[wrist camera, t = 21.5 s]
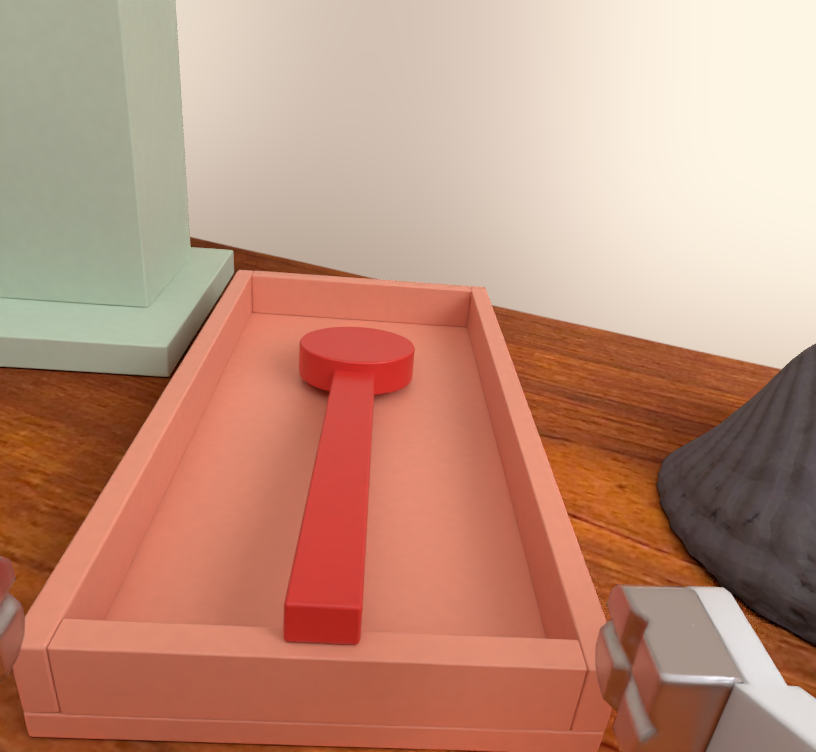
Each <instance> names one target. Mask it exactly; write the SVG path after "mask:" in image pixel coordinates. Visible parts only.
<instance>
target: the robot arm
mask: <svg viewBox="0 0 816 752" xmlns="http://www.w3.org/2000/svg"><path fill="white" fill-rule="evenodd" d="M15 580H16V577H15V573H14V570H13V567H12V563H11V560H9V559H7V558H4V557H2V556H0V682H2V681H3V680H4V679H6V678H7V677H8V675H9V673H10V671H11V670H12V668H13V666H14V664H15V662H16V661H17V659H18V656H19V652H20V649H21V646H22V642H23V639H24V634H25V616H24V611H23V607H22V604H21V603H20V602H19V601H18V600H17V599H15V598H14V597H13V596H12V595H11V594H10V593H9V592H8V591H9V589H10V588H11V586H12V584H13V583H14V581H15ZM607 607H608V610H609V613H610V615H611V618H612V619H611V620H610V621H608V622H607V623H606V624H605V625H603V626H602V627H601V628H600V630H599V634H598V638H597V642H596V646H595V668H596V674H597V680H598V684H599V688H600V691H601V694H602V698H603V699H604V700H605V701H606V702H607V703H608V704H609V705H610V706H611V707H612V708H613V709H614V710H615V711H616V712H617V716H616V719H615V722H614V725H613V728H612V729H613V732H614V735H615V738H616V741H617V745H618V748H619V751H620V752H816V699H815V698H814V697H813V696H811V695H810V694H809V693H807V692H806V691H805V690H803V689H802V688H800V687H799V686H788V685H787V684H786V682H785V681H784V679H783V677H782V676H781V674H780V672H779V671H778V669H777V668H776V666H775V664H774V663H773V661H772V659H771V658H770V656H769V654H768V653H767V651H766V650H765V648H764V646H763V645H762V643H761V641H760V640H759V638H758V636H757V635H756V633H755V632H754V630H753V628H752V627H751V625H750V623H749V622H748V620H747V619H746V617H745V615H744V614H743V612H742V610H741V609H740V607H739V605H738V604H737V602H736V601H735V599H734V597H733V596H732V594H731V593H730V592H729V591H727V590H726V589H725V588H723V587H697V586H687V587H683V586H659V585H632V584H616V585H615V586H614V588H613V589H612V590H611V592H610V595H609V599H608V602H607Z"/></svg>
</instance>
